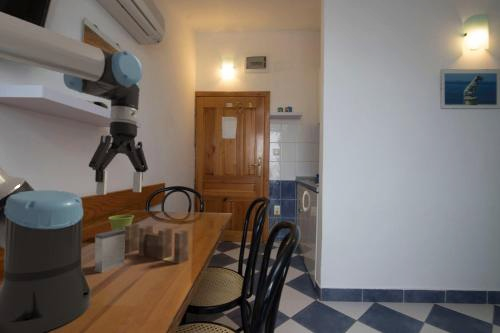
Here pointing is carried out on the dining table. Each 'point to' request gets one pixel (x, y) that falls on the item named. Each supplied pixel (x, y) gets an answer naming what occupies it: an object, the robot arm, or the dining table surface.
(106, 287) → the dining table surface
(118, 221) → the plant pot
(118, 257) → the bracket plate
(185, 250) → the brown long notched block
